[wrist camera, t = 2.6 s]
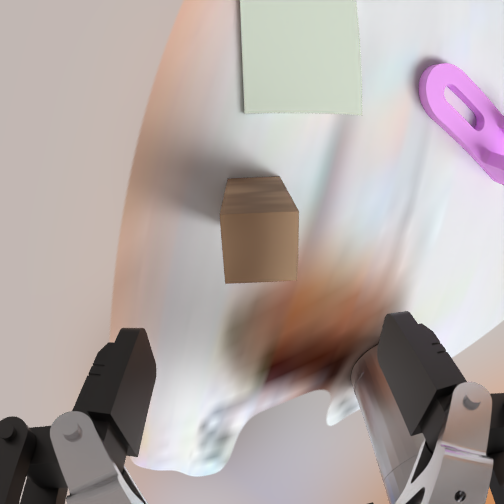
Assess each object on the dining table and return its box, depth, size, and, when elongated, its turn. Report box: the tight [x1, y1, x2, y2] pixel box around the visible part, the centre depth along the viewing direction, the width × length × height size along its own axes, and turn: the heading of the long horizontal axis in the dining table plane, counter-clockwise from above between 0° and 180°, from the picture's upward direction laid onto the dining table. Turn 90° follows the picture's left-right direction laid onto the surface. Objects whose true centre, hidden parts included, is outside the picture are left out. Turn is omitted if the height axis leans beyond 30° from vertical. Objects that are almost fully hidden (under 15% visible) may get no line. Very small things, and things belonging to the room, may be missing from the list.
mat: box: [240, 0, 362, 115], centre depth 20 cm, size 9×10×1 cm
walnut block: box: [220, 177, 299, 284], centre depth 21 cm, size 4×4×9 cm
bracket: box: [419, 63, 504, 185], centre depth 19 cm, size 13×6×7 cm, turn 62°
